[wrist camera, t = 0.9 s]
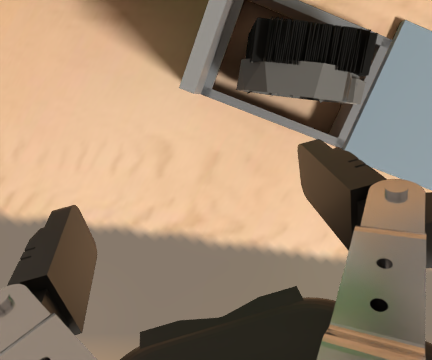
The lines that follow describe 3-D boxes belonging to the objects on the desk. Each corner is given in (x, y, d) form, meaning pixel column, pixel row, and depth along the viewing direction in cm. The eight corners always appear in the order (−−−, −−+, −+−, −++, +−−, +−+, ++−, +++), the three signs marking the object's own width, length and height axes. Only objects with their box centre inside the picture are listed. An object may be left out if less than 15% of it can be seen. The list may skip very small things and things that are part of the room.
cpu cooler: (233, 92, 36) (240, 91, 26) (241, 33, 34) (251, 8, 25) (333, 104, 36) (377, 108, 26) (344, 46, 35) (395, 27, 25)
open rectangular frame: (230, -17, 33) (241, -95, 20) (377, 44, 35) (482, 11, 21) (192, 90, 36) (179, 87, 22) (331, 144, 37) (399, 173, 23)
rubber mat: (401, 21, 34) (405, 20, 33) (498, 63, 35) (505, 62, 34) (339, 154, 37) (342, 155, 36) (430, 189, 38) (435, 191, 37)
